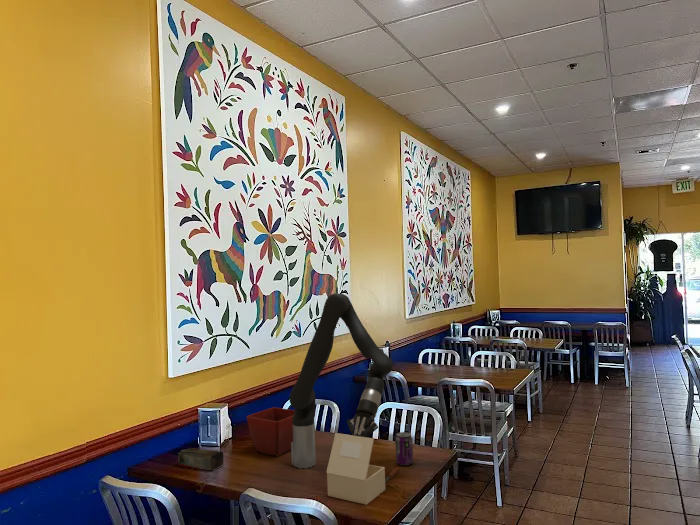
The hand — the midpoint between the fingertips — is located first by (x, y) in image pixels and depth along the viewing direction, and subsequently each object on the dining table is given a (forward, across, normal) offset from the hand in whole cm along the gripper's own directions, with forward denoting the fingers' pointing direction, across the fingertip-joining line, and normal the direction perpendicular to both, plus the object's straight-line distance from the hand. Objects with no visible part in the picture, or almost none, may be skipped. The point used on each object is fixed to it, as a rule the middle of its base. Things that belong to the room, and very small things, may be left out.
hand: (354, 446), depth 182 cm
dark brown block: (+15, -75, +8) cm, 77 cm away
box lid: (+4, 0, 0) cm, 4 cm away
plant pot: (-5, -57, +30) cm, 65 cm away
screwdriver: (0, +5, +25) cm, 25 cm away
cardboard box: (+12, 0, +12) cm, 17 cm away
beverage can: (-12, +3, +37) cm, 39 cm away
